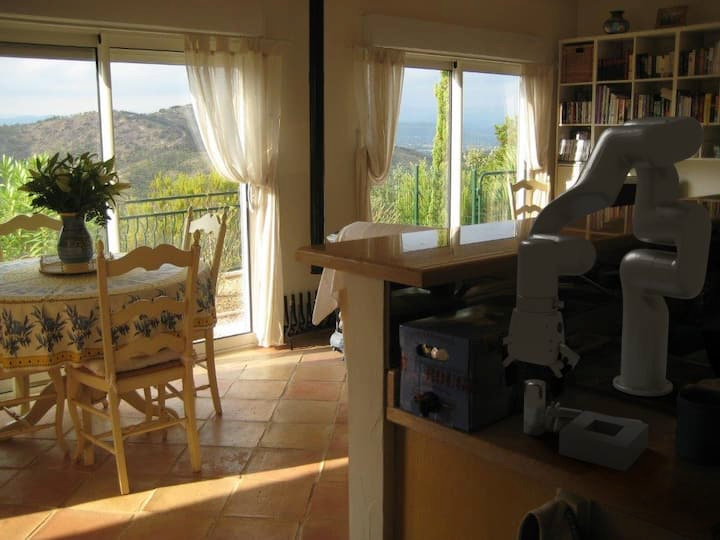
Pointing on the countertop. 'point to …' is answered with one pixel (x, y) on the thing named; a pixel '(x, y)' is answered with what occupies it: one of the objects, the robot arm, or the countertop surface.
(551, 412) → the caliper
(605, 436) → the bore block
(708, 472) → the countertop surface
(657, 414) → the countertop surface
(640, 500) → the countertop surface
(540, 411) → the steel pin
